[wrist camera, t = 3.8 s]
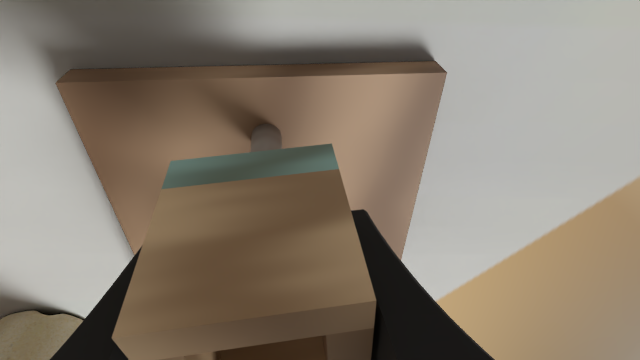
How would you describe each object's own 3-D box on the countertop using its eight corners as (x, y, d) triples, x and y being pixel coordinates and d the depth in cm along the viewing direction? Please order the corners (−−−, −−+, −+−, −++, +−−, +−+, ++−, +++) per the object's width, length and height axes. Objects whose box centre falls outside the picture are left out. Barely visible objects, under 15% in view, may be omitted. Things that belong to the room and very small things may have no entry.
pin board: (435, 61, 15) (499, 125, 11) (392, 254, 22) (420, 335, 18) (70, 69, 13) (-16, 146, 9) (155, 272, 21) (128, 364, 17)
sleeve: (331, 143, 10) (376, 300, 6) (334, 247, 13) (366, 401, 9) (170, 160, 10) (111, 338, 6) (209, 264, 13) (186, 431, 9)
